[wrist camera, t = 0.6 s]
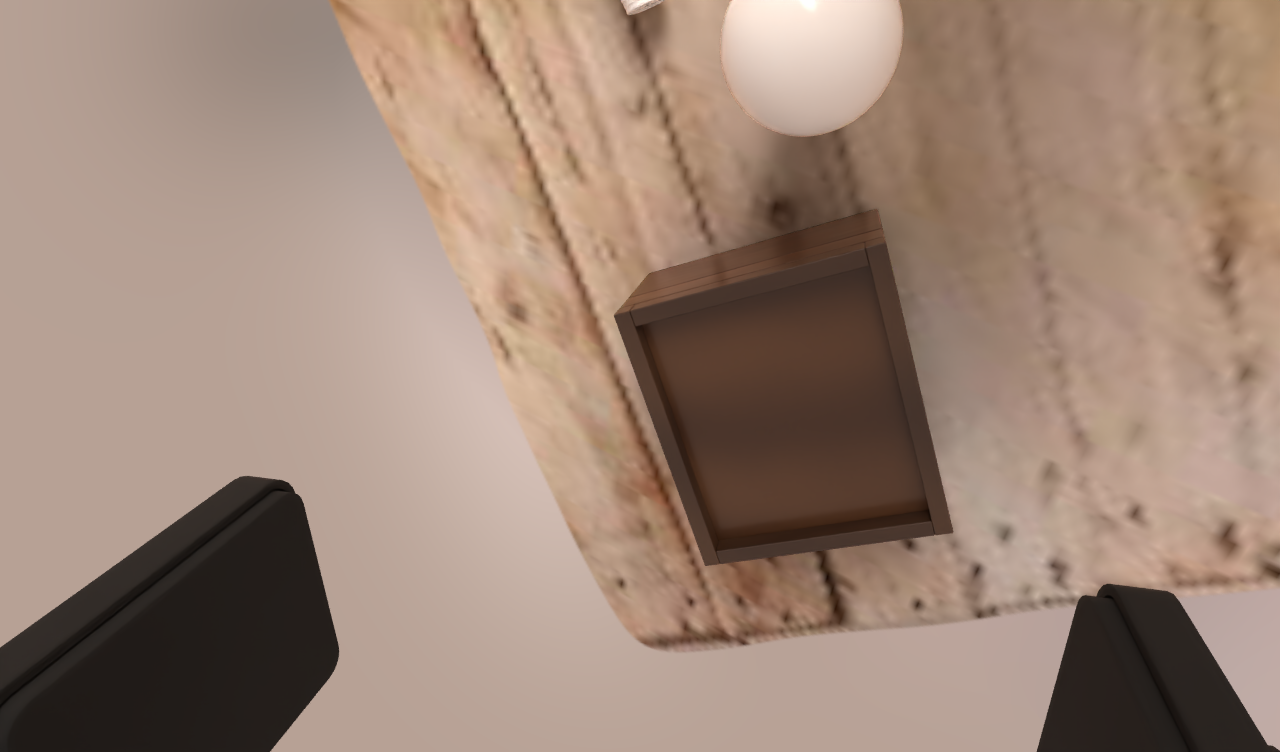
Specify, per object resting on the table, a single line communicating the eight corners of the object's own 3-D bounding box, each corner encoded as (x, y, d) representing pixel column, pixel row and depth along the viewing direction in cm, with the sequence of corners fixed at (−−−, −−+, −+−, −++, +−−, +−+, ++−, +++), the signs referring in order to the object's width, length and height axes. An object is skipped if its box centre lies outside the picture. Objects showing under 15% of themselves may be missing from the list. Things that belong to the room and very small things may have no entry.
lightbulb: (736, -19, 33) (694, -47, 23) (885, -51, 31) (907, -96, 21) (752, 128, 35) (720, 159, 26) (892, 105, 34) (914, 130, 24)
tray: (648, 273, 40) (613, 315, 33) (877, 208, 35) (885, 242, 29) (724, 493, 44) (705, 566, 38) (935, 457, 40) (953, 533, 34)
